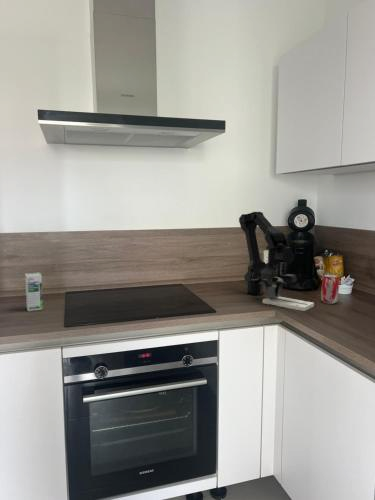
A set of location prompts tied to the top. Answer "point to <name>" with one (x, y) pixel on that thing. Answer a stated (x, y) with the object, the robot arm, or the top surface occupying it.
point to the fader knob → (272, 292)
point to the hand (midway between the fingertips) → (273, 295)
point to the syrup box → (34, 291)
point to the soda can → (330, 289)
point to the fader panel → (289, 303)
